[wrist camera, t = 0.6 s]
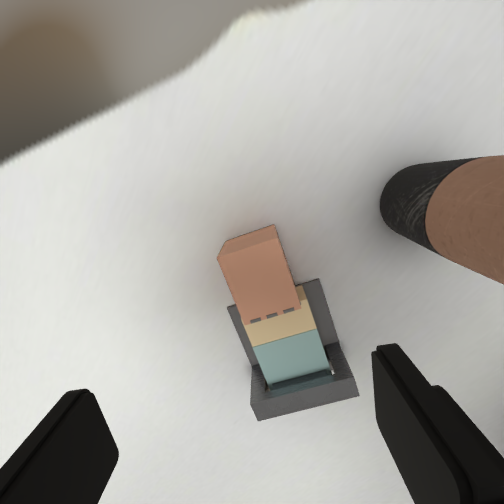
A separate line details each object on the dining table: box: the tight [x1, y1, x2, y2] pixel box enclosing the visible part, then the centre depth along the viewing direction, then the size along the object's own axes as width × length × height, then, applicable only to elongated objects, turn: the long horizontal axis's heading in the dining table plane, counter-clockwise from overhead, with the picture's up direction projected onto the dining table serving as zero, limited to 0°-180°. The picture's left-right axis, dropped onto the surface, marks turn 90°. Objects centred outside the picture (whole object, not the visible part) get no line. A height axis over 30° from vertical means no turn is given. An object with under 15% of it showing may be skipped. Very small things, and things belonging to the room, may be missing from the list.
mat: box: [227, 279, 340, 370], centre depth 32 cm, size 12×11×1 cm
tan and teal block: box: [241, 285, 332, 391], centre depth 30 cm, size 11×7×4 cm, turn 20°
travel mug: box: [380, 155, 504, 284], centre depth 18 cm, size 8×8×20 cm
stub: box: [217, 225, 302, 325], centre depth 27 cm, size 7×6×6 cm
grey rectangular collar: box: [250, 342, 360, 421], centre depth 30 cm, size 2×11×6 cm, turn 110°
